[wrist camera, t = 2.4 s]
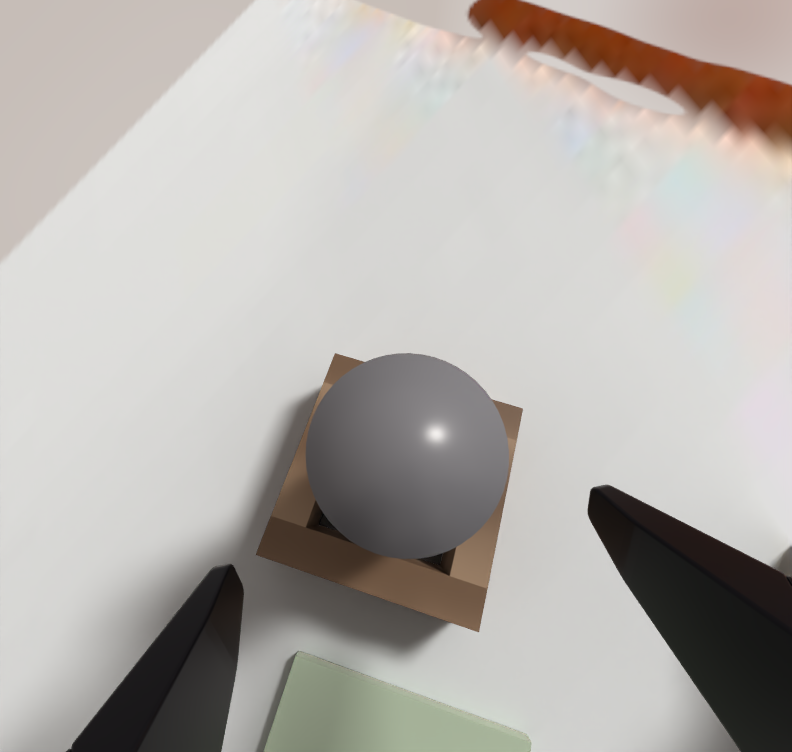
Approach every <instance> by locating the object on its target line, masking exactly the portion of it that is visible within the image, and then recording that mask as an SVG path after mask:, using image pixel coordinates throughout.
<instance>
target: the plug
mask: <svg viewBox="0 0 792 752" xmlns="http://www.w3.org/2000/svg"><path fill="white" fill-rule="evenodd" d="M305 457H306V469H307V474H308V479H309V484H310V486H311V489H312V492H313V495H314V497H315V499H316V501H317V503H318V505H319V507H320V509H321V510H322V512H323V513H324V515H325V516H326V517H327V519H328V520H329V522H330V523H331V524H332V525H333V526H334V527H335V528H336V529H337V530H338V531H339V532H340V533H341V534H343V535H344V536H345V537H346V538H347V539H349V540H350V541H352V542H353V543H355V544H357V545H358V546H360V547H362V548H364V549H366V550H368V551H371V552H373V553H375V554H379V555H383V556H387V557H390V558H399V559H420V558H425V557H431V556H435V555H438V554H441V553H444V552H447V551H449V550H451V549H453V548H455V547H457V546H459V545H461V544H462V543H464V542H465V541H466V540H468V539H469V538H471V537H472V536H473V535H474V534H475V533H476V532H477V531H478V530H480V529H481V528H482V527H483V525H484V524H485V523H486V522H487V520H488V519H489V518H490V517H491V515H492V514H493V512H494V510H495V509H496V507H497V505H498V503H499V501H500V499H501V496H502V494H503V491H504V488H505V484H506V480H507V476H508V468H509V447H508V439H507V435H506V431H505V427H504V424H503V421H502V419H501V416H500V414H499V412H498V410H497V408H496V406H495V404H494V403H493V401H492V400H491V398H490V397H489V395H488V394H487V393H486V391H485V390H484V389H483V388H482V387H481V386H480V385H479V384H478V383H477V382H476V381H475V380H474V379H473V378H472V377H470V376H469V375H468V374H467V373H465V372H464V371H462V370H461V369H459V368H458V367H456V366H454V365H452V364H450V363H448V362H446V361H443V360H440V359H437V358H435V357H431V356H426V355H421V354H411V353H406V354H392V355H385V356H382V357H378V358H374V359H372V360H369V361H367V362H364V363H362V364H360V365H358V366H357V367H355V368H353V369H351V370H350V371H349V372H347V373H346V374H345V375H343V376H342V377H341V378H340V379H339V380H338V381H337V382H336V383H335V384H333V386H332V387H331V388H330V389H329V390H328V392H327V393H326V394H325V395H324V397H323V399H322V400H321V402H320V403H319V405H318V407H317V409H316V411H315V413H314V415H313V417H312V421H311V424H310V427H309V430H308V436H307V441H306V456H305Z"/></svg>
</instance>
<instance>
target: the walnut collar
mask: <svg viewBox="0 0 792 752" xmlns="http://www.w3.org/2000/svg"><path fill="white" fill-rule="evenodd" d="M362 363H364V362H363V361H359V360H356V359H353V358H349V357H346V356H342V355H339V354H336V353H335V355H334V357H333V360H332V362H331V365H330V367H329V370H328V373H327V375H326V378H325V380H324V383H323V385H322V388H321V390H320V393H319V395H318V398H317V400H316V403H315V405H314V408H313V411H312V413H311V416H310V418H309V421H308V423H307V426H306V428H305V431H304V433H303V436H302V438H301V441H300V444H299V446H298V449H297V451H296V454H295V456H294V459H293V461H292V464H291V466H290V469H289V471H288V474H287V476H286V479H285V482H284V484H283V487H282V489H281V492H280V494H279V497H278V499H277V502H276V504H275V507H274V509H273V512H272V515H271V517H270V520H269V522H268V525H267V527H266V530H265V532H264V535H263V537H262V540H261V542H260V545H259V548H258V550H257V553H256V555H258V556H261V557H264V558H267V559H269V560H272V561H275V562H278V563H281V564H284V565H287V566H290V567H292V568H295V569H298V570H301V571H304V572H307V573H310V574H313V575H315V576H318V577H321V578H324V579H327V580H330V581H333V582H336V583H338V584H341V585H344V586H347V587H350V588H353V589H356V590H359V591H362V592H364V593H367V594H370V595H373V596H376V597H379V598H382V599H385V600H387V601H390V602H393V603H396V604H399V605H402V606H405V607H408V608H410V609H413V610H416V611H419V612H422V613H425V614H428V615H431V616H433V617H436V618H439V619H442V620H445V621H448V622H451V623H454V624H456V625H459V626H462V627H465V628H468V629H471V630H474V631H477V632H479V629H480V623H481V618H482V613H483V608H484V603H485V598H486V593H487V588H488V583H489V578H490V573H491V568H492V563H493V558H494V553H495V548H496V542H497V537H498V532H499V527H500V522H501V517H502V512H503V507H504V502H505V497H506V492H507V487H508V482H509V477H510V472H511V467H512V461H513V456H514V451H515V446H516V441H517V436H518V431H519V426H520V421H521V416H522V411H523V409H522V408H519V407H516V406H512V405H509V404H505V403H502V402H499V401H495V400H492V399H491V400H492V401H493V403H494V404H495V406H496V408H497V410H498V412H499V414H500V416H501V419H502V421H503V424H504V427H505V431H506V435H507V439H508V447H509V468H508V476H507V480H506V484H505V488H504V491H503V494H502V496H501V499H500V501H499V503H498V505H497V507H496V509H495V510H494V512H493V514H492V515H491V517H490V518H489V519H488V520H487V522H486V523H485V524H484V525H483V527H482V528H481V529H480V530H478V531H477V532H476V533H475V534H474V535H473V536H472V537H471V538H469V539H468V540H466V541H465V542H464V543H462V544H461V545H459V546H457V547H455V548H453V549H451V550H449V551H447V552H444V553H443V554H442V558H441V563H440V565H438V564H435V563H432V562H429V561H426V560H423V559H399V558H390V557H387V556H383V555H379V554H375V553H373V552H371V551H368V550H366V549H364V548H362V547H360V546H358V545H357V544H355V543H353V542H352V541H350V540H349V539H347V538H346V537H345V536H344V535H343V534H341V533H340V532H339V531H336V530H333V529H330V528H327V527H324V526H321V525H319V522H320V519H321V517H322V514H323V512H322V510H321V509H320V507H319V505H318V503H317V501H316V499H315V497H314V495H313V492H312V489H311V486H310V484H309V479H308V474H307V469H306V457H305V456H306V441H307V436H308V430H309V427H310V424H311V421H312V417H313V415H314V413H315V411H316V409H317V407H318V405H319V403H320V402H321V400H322V399H323V397H324V395H325V394H326V393H327V392H328V390H329V389H330V388H331V387H332V386H333V384H335V383H336V382H337V381H338V380H339V379H340V378H341V377H342V376H343V375H345V374H346V373H347V372H349V371H350V370H351V369H353V368H355V367H357V366H358V365H360V364H362Z"/></svg>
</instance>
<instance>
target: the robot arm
mask: <svg viewBox="0 0 792 752" xmlns="http://www.w3.org/2000/svg"><path fill="white" fill-rule="evenodd" d="M588 516H589V519H590V521H591V523H592V525H593V527H594V528H595V530H596V532H597V534H598V536H599V537H600V539H601V541H602V543H603V545H604V546H605V548H606V550H607V552H608V554H609V555H610V557H611V559H612V561H613V563H614V564H615V566H616V568H617V570H618V571H619V573H620V575H621V576H622V578H623V580H624V581H625V583H626V584H627V586H628V587H629V589H630V590H631V592H632V593H633V595H634V596H635V598H636V599H637V600H638V602H639V603H640V605H641V606H642V608H643V609H644V611H645V612H646V614H647V615H648V617H649V618H650V619H651V621H652V622H653V624H654V625H655V627H656V628H657V630H658V631H659V633H660V634H661V636H662V637H663V638H664V640H665V641H666V643H667V644H668V646H669V647H670V649H671V650H672V652H673V653H674V655H675V656H676V657H677V659H678V660H679V662H680V663H681V665H682V666H683V668H684V669H685V671H686V672H687V674H688V675H689V676H690V678H691V679H692V681H693V682H694V684H695V685H696V687H697V688H698V690H699V691H700V693H701V694H702V695H703V697H704V698H705V700H706V701H707V703H708V704H709V706H710V707H711V709H712V710H713V712H714V713H715V714H716V716H717V717H718V719H719V720H720V722H721V723H722V725H723V726H724V728H725V729H726V731H727V732H728V733H729V735H730V736H731V738H732V739H733V741H734V742H735V744H736V745H737V747H738V748H739V749H740V751H741V752H792V577H790V576H785V574H784V573H782V572H780V571H778V570H776V569H774V568H772V567H770V566H768V565H766V564H764V563H762V562H760V561H758V560H756V559H754V558H752V557H750V556H748V555H746V554H745V553H743V552H741V551H739V550H737V549H735V548H733V547H731V546H729V545H727V544H725V543H723V542H721V541H719V540H717V539H715V538H713V537H711V536H709V535H707V534H705V533H703V532H701V531H699V530H697V529H695V528H693V527H691V526H689V525H687V524H685V523H683V522H681V521H679V520H677V519H675V518H674V517H672V516H670V515H668V514H666V513H664V512H662V511H660V510H658V509H656V508H654V507H652V506H650V505H648V504H646V503H644V502H642V501H640V500H638V499H636V498H634V497H632V496H630V495H628V494H626V493H624V492H622V491H620V490H618V489H616V488H614V487H612V486H610V485H601V486H597V487H593V488H592V489H591V491H590V497H589V504H588ZM243 597H244V590H243V585H242V583H241V581H240V578H239V576H238V574H237V572H236V570H235V568H234V566H233V565H232V564H225V565H220V566H216V567H214V568H212V569H211V570H210V571H209V573H208V574H207V575H206V576H205V578H204V579H203V580H202V581H201V583H200V584H199V585H198V586H197V588H196V589H195V590H194V592H193V593H192V594H191V595H190V597H189V598H188V599H187V600H186V602H185V603H184V604H183V605H182V607H181V608H180V609H179V610H178V612H177V613H176V614H175V615H174V617H173V618H172V619H171V620H170V622H169V623H168V624H167V626H166V627H165V628H164V629H163V631H162V632H161V633H160V634H159V636H158V637H157V638H156V639H155V641H154V642H153V643H152V644H151V646H150V647H149V648H148V649H147V651H146V652H145V653H144V654H143V656H142V657H141V658H140V660H139V661H138V662H137V663H136V665H135V666H134V667H133V668H132V670H131V671H130V672H129V673H128V675H127V676H126V677H125V678H124V680H123V681H122V682H121V683H120V685H119V686H118V687H117V688H116V690H115V691H114V692H113V693H112V695H111V696H110V697H109V699H108V700H107V701H106V702H105V704H104V705H103V706H102V707H101V709H100V710H99V711H98V712H97V714H96V715H95V716H94V717H93V719H92V720H91V721H90V722H89V724H88V725H87V726H86V727H85V729H84V730H83V731H82V733H81V734H80V735H79V736H78V738H77V739H76V740H75V741H74V743H73V744H72V749H68V750H67V751H66V752H221V750H222V745H223V739H224V734H225V729H226V724H227V718H228V713H229V708H230V703H231V697H232V692H233V687H234V682H235V676H236V670H237V662H238V653H239V642H240V631H241V620H242V609H243Z"/></svg>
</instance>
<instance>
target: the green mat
mask: <svg viewBox="0 0 792 752" xmlns="http://www.w3.org/2000/svg"><path fill="white" fill-rule="evenodd" d="M530 750H531V741H530V739H529V738H528V736H527V734H524V733H522V732H519V731H516V730H514V729H511V728H508V727H505V726H503V725H500V724H497V723H494V722H492V721H489V720H486V719H484V718H481V717H478V716H475V715H473V714H470V713H467V712H464V711H462V710H459V709H456V708H454V707H451V706H448V705H445V704H443V703H440V702H437V701H434V700H432V699H429V698H426V697H424V696H421V695H418V694H415V693H413V692H410V691H407V690H404V689H402V688H399V687H396V686H394V685H391V684H388V683H385V682H383V681H380V680H377V679H374V678H372V677H369V676H366V675H364V674H361V673H358V672H355V671H353V670H350V669H347V668H344V667H342V666H339V665H336V664H333V663H331V662H328V661H325V660H323V659H320V658H317V657H314V656H312V655H309V654H306V653H303V652H301V651H298V653H297V654H296V656H295V659H294V662H293V665H292V668H291V671H290V674H289V677H288V680H287V683H286V686H285V689H284V692H283V695H282V698H281V701H280V704H279V707H278V710H277V713H276V716H275V719H274V722H273V725H272V728H271V731H270V734H269V737H268V740H267V743H266V746H265V749H264V752H530Z"/></svg>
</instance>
